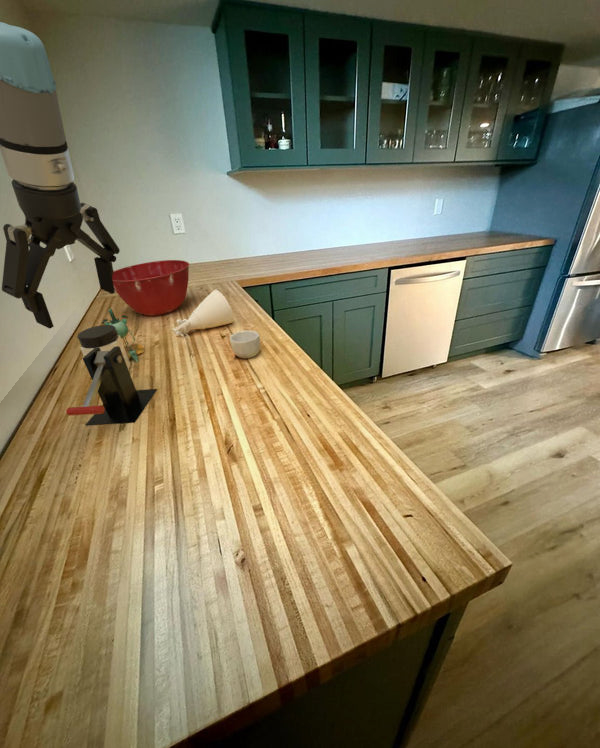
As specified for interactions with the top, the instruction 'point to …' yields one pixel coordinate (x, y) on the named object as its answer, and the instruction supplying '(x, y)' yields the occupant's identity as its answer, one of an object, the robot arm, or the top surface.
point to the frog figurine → (123, 331)
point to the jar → (101, 340)
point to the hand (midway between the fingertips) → (79, 306)
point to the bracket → (117, 390)
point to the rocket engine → (207, 314)
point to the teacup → (245, 343)
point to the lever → (92, 390)
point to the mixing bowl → (153, 286)
